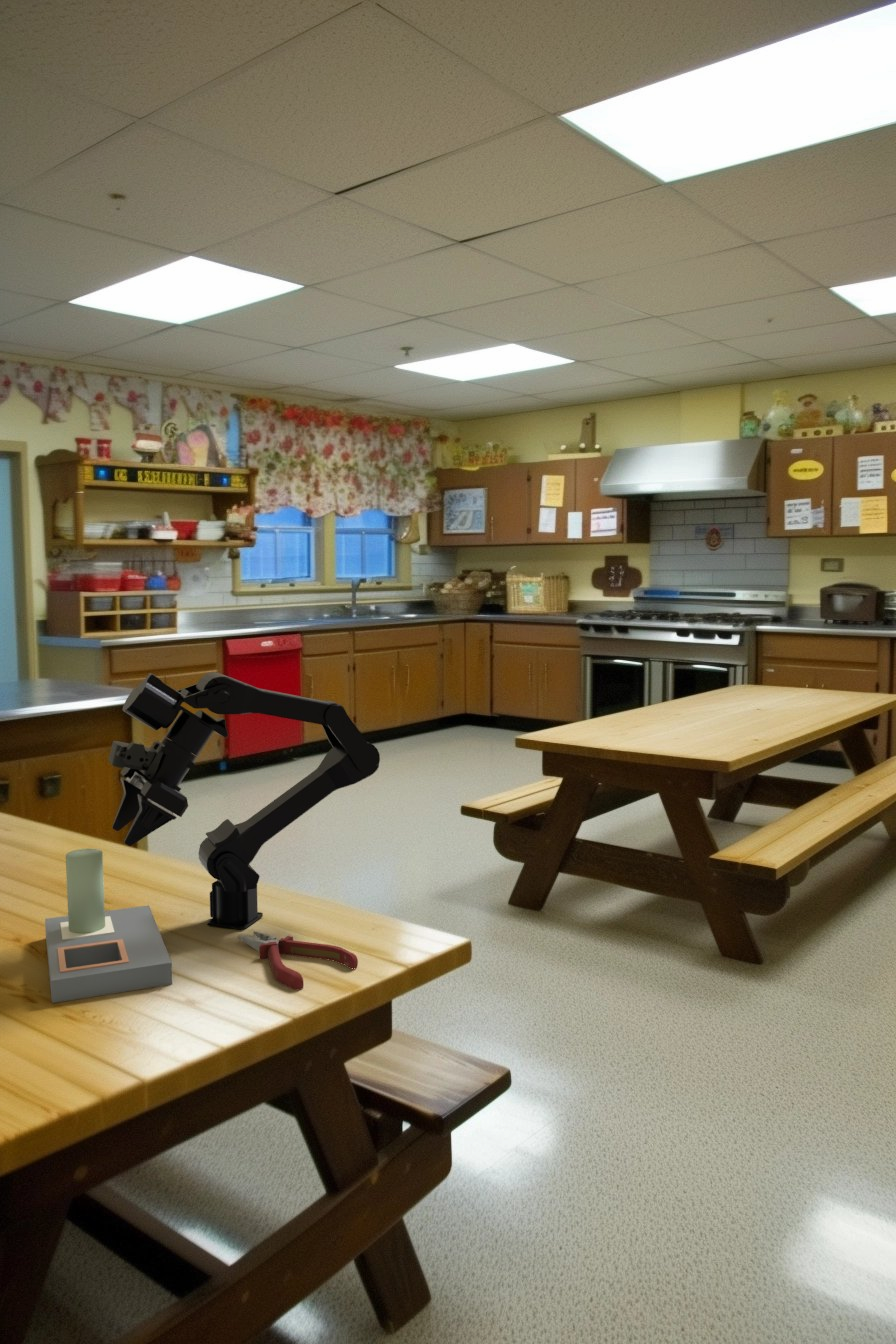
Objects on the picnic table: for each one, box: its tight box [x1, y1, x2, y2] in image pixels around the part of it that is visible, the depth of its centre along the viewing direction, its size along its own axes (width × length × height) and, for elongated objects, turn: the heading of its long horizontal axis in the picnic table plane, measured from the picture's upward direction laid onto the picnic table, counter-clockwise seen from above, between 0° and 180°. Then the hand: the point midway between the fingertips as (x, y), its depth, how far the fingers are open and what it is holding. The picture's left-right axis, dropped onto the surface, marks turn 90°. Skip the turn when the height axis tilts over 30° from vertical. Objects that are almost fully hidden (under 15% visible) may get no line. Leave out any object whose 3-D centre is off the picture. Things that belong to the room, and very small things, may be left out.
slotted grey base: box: [44, 904, 173, 1004], centre depth 144 cm, size 24×15×3 cm, turn 23°
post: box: [65, 848, 106, 934], centre depth 147 cm, size 5×5×11 cm
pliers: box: [237, 930, 359, 990], centre depth 145 cm, size 12×20×3 cm, turn 45°
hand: (120, 836), depth 150 cm, fingers open, 9 cm apart
